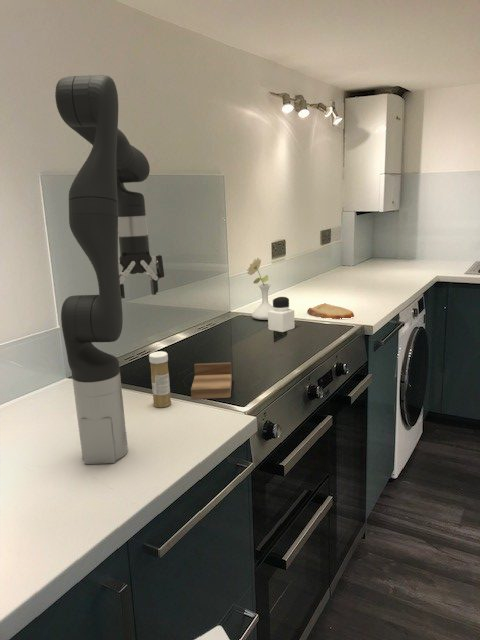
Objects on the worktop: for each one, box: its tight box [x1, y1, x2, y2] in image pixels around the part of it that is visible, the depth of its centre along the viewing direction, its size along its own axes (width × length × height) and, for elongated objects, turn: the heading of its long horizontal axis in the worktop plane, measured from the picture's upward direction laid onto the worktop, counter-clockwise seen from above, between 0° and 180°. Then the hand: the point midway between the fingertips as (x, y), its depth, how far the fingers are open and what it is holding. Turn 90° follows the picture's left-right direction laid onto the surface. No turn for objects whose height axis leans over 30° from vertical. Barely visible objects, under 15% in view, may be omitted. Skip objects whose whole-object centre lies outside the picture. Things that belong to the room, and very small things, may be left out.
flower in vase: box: [247, 257, 274, 321], centre depth 216 cm, size 13×11×25 cm
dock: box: [190, 361, 233, 400], centre depth 144 cm, size 12×10×6 cm
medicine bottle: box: [267, 296, 296, 333], centre depth 201 cm, size 7×7×12 cm
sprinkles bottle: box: [148, 350, 172, 408], centre depth 134 cm, size 5×5×14 cm
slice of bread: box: [306, 303, 355, 320], centre depth 221 cm, size 18×18×4 cm
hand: (138, 296), depth 143 cm, fingers open, 8 cm apart
